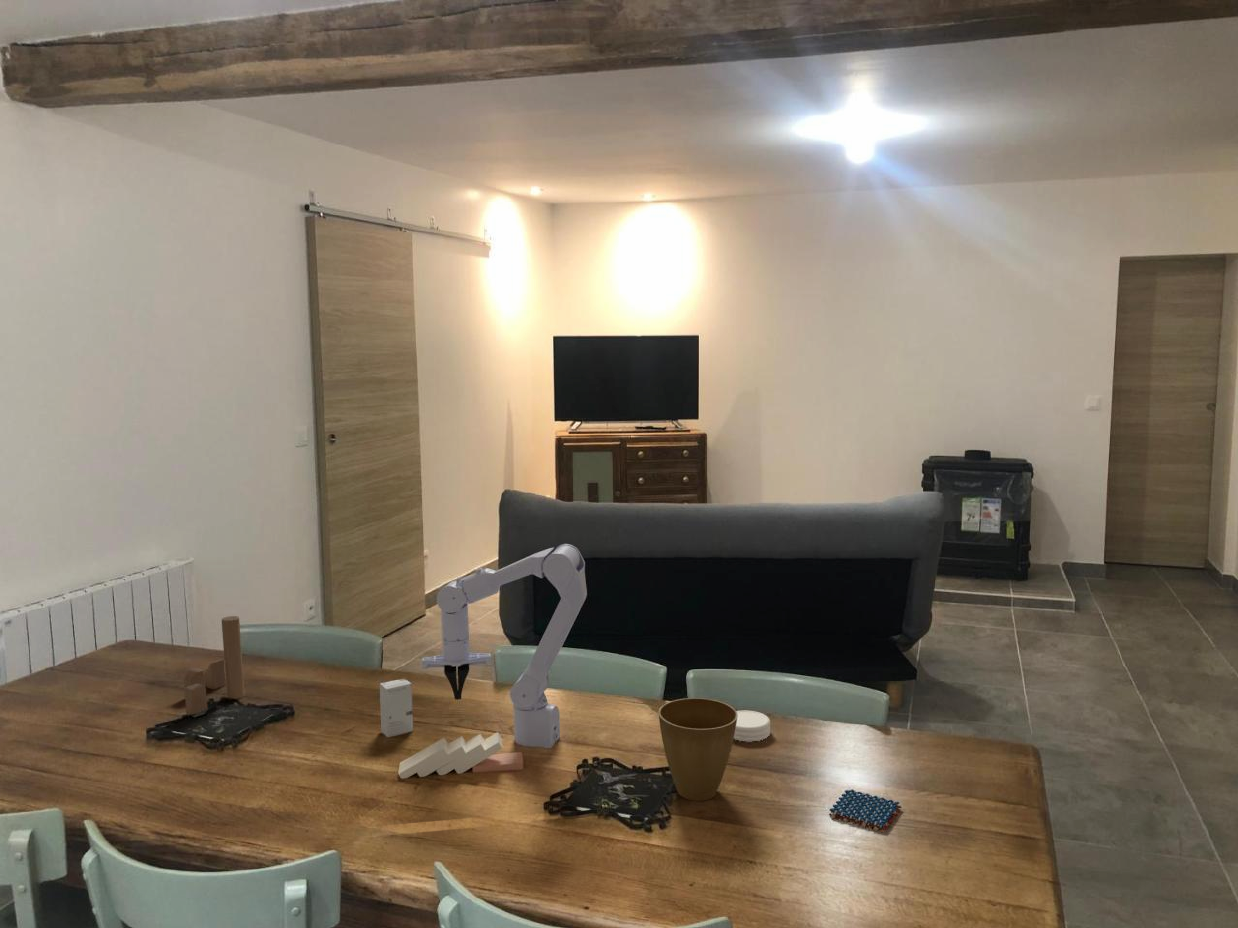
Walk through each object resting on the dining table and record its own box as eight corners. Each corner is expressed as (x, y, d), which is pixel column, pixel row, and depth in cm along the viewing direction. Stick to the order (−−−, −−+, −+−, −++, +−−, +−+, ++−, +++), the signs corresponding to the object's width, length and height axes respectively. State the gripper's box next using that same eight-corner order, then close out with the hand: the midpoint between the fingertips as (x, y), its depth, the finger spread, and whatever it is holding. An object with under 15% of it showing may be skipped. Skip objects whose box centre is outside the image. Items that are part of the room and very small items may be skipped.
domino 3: (441, 765, 189) (484, 739, 189) (440, 776, 184) (484, 750, 184) (437, 759, 188) (480, 733, 189) (436, 770, 183) (480, 743, 184)
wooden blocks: (209, 680, 240) (203, 605, 238) (257, 695, 230) (252, 616, 227) (146, 702, 226) (139, 622, 224) (194, 719, 216) (188, 636, 213)
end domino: (472, 763, 189) (522, 759, 191) (472, 774, 184) (523, 770, 186) (472, 755, 189) (521, 751, 191) (472, 766, 184) (523, 762, 186)
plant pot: (685, 818, 168) (684, 734, 166) (645, 784, 181) (644, 706, 179) (752, 799, 175) (753, 718, 173) (709, 767, 188) (709, 691, 186)
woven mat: (885, 836, 162) (886, 826, 162) (827, 820, 168) (827, 809, 168) (903, 811, 171) (903, 800, 170) (847, 796, 176) (847, 786, 176)
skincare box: (387, 743, 201) (385, 689, 200) (380, 735, 205) (378, 683, 203) (414, 736, 205) (412, 683, 203) (407, 729, 208) (405, 677, 207)
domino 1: (404, 768, 187) (448, 743, 188) (402, 780, 182) (447, 754, 183) (400, 762, 187) (444, 737, 188) (398, 773, 182) (443, 748, 183)
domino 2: (422, 767, 188) (465, 742, 189) (420, 778, 183) (465, 752, 184) (418, 760, 188) (461, 735, 188) (416, 772, 183) (461, 746, 183)
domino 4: (458, 763, 189) (501, 738, 190) (458, 775, 184) (502, 748, 185) (454, 757, 189) (497, 731, 189) (454, 768, 184) (498, 742, 185)
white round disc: (719, 739, 201) (719, 724, 201) (730, 721, 210) (730, 706, 210) (765, 746, 198) (765, 730, 197) (774, 727, 207) (774, 712, 206)
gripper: (420, 645, 195) (422, 707, 197) (489, 641, 197) (492, 702, 199) (422, 634, 202) (424, 694, 204) (489, 630, 204) (491, 690, 206)
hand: (458, 697), depth 202 cm, fingers closed
